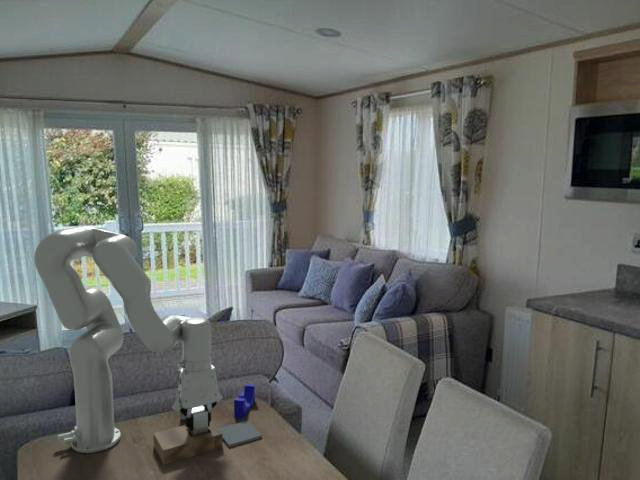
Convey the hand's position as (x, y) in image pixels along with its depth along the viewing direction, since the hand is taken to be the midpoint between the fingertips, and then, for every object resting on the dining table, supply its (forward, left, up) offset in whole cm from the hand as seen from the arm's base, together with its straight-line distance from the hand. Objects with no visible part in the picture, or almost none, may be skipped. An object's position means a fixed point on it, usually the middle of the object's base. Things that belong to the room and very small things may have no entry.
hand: (198, 426), depth 138 cm
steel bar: (0, 0, -5) cm, 5 cm away
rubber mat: (+11, -1, -5) cm, 13 cm away
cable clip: (+19, +13, -6) cm, 24 cm away
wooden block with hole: (-3, 0, -5) cm, 6 cm away
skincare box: (+4, +18, -6) cm, 19 cm away
